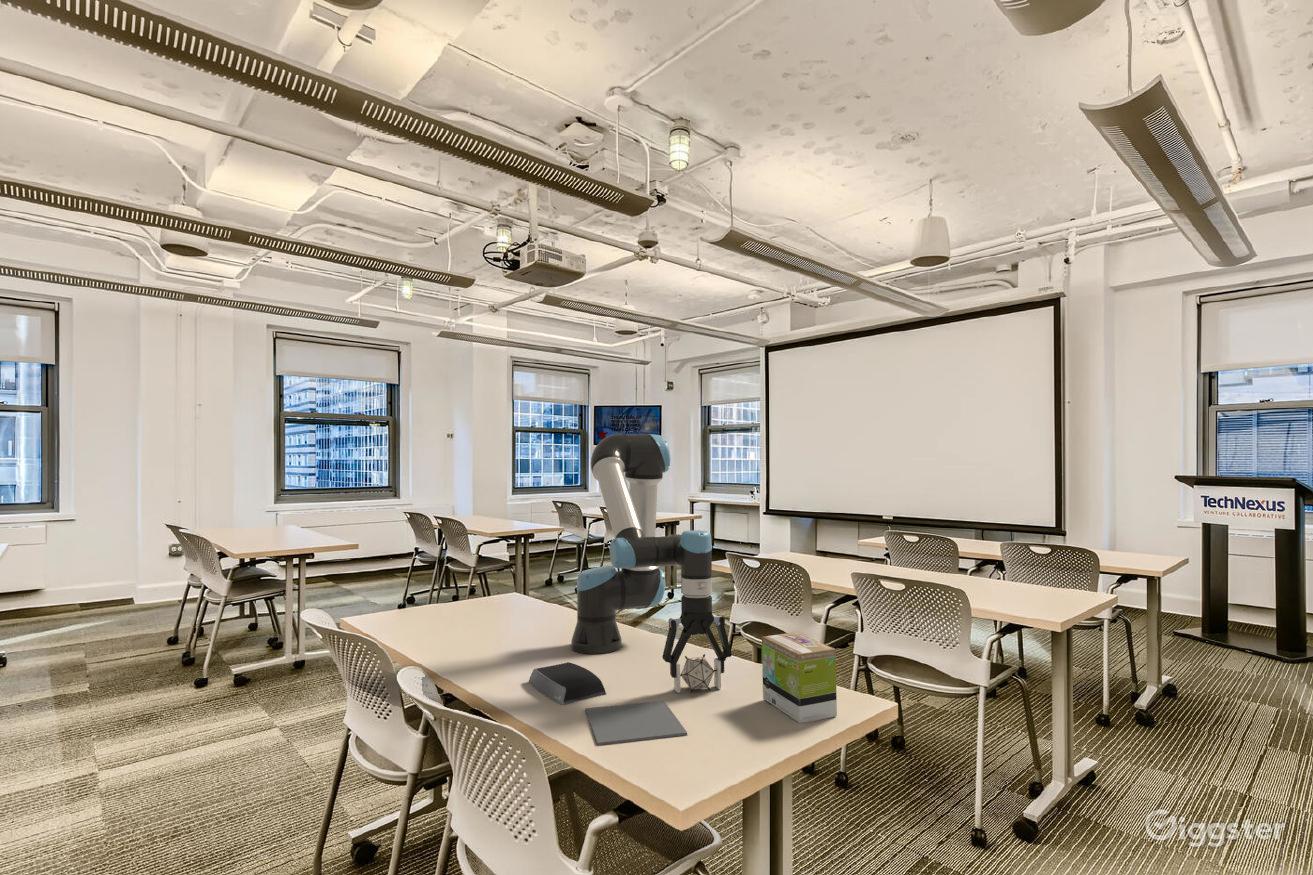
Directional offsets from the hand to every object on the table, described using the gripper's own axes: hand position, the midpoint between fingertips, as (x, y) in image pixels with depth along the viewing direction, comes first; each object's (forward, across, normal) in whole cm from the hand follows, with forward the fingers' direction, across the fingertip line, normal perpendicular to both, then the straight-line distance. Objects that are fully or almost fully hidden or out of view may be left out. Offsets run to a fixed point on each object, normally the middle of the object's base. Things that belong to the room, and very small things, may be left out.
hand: (697, 688), depth 148 cm
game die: (0, 0, 0) cm, 1 cm away
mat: (0, -19, -15) cm, 24 cm away
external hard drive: (+1, -30, +10) cm, 32 cm away
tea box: (+1, +18, -17) cm, 25 cm away
